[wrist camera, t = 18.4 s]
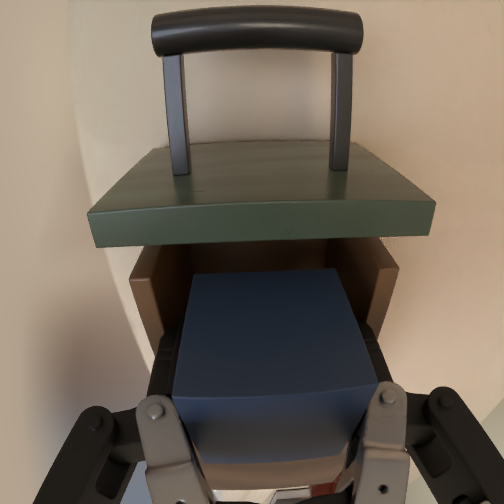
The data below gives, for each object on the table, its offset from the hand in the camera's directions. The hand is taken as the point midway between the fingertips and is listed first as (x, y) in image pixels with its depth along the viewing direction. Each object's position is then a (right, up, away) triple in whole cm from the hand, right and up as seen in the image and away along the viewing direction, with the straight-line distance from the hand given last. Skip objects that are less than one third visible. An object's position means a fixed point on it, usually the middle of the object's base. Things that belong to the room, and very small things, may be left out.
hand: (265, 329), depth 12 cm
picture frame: (+12, -56, +45) cm, 72 cm away
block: (0, 0, 0) cm, 0 cm away
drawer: (0, +5, +5) cm, 7 cm away
